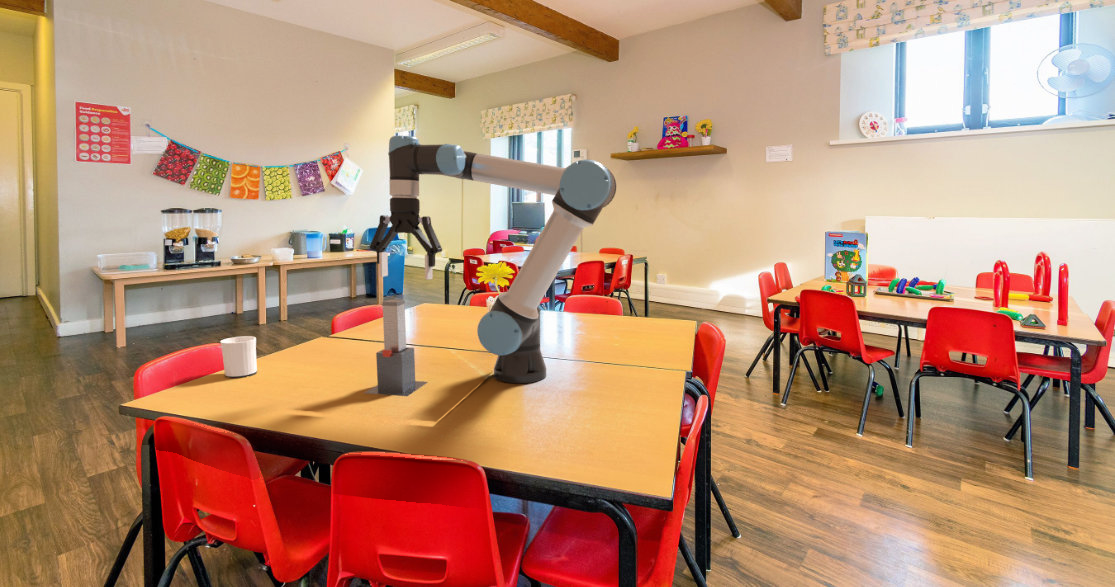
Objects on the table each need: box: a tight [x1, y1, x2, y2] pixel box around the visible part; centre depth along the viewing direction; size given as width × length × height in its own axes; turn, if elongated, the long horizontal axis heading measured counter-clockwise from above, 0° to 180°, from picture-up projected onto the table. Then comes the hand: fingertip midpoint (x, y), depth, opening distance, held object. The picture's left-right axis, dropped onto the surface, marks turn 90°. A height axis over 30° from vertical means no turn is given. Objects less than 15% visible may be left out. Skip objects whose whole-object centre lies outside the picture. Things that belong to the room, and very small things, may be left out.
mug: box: [219, 335, 258, 379], centre depth 157 cm, size 11×9×10 cm
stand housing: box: [364, 346, 429, 397], centre depth 142 cm, size 12×12×12 cm
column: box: [381, 299, 407, 353], centre depth 141 cm, size 4×4×23 cm
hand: (406, 277), depth 145 cm, fingers open, 13 cm apart
